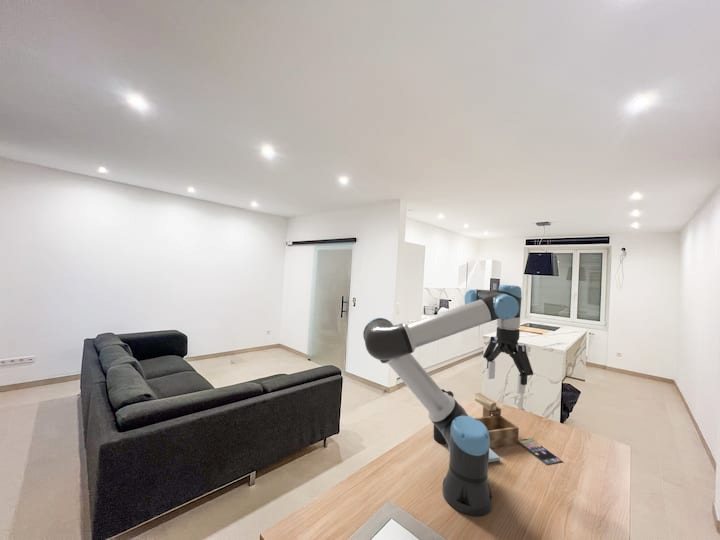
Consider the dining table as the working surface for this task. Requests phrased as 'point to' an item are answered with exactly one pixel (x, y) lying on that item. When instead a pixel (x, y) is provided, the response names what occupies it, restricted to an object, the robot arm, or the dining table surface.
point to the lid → (491, 456)
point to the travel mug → (437, 434)
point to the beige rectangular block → (485, 401)
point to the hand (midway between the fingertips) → (505, 385)
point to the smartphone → (539, 451)
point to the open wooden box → (499, 428)
